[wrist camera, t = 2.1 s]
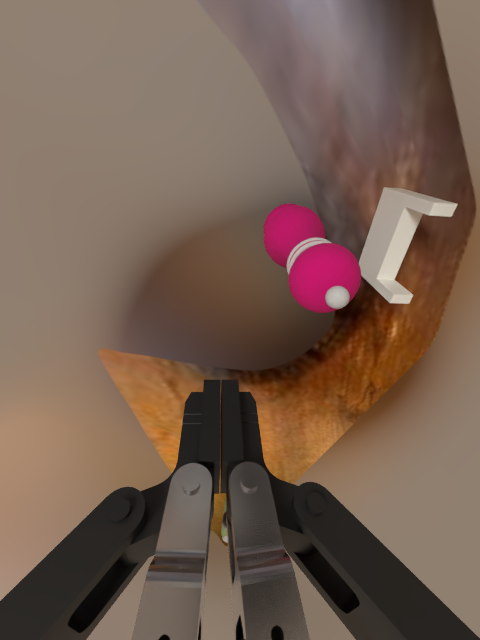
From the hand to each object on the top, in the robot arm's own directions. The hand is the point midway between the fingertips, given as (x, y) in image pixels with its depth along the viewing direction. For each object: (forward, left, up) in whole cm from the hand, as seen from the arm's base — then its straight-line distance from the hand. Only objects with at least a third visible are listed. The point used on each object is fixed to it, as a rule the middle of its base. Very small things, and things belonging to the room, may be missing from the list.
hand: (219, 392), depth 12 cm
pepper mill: (0, +9, -29) cm, 30 cm away
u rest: (0, +22, -28) cm, 36 cm away
